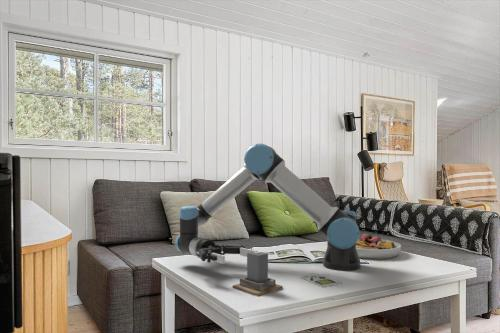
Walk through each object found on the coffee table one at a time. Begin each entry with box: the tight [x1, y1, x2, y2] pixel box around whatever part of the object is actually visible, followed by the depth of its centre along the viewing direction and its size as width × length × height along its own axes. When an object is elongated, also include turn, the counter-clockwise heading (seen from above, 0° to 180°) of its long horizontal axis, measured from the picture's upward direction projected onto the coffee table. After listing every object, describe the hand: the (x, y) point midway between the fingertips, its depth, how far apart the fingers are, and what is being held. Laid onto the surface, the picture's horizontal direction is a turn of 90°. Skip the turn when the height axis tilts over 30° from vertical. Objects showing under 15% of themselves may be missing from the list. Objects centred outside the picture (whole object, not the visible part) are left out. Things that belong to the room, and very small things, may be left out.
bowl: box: [356, 233, 402, 260], centre depth 193 cm, size 30×30×8 cm
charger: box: [246, 250, 269, 283], centre depth 136 cm, size 4×6×11 cm
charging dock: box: [232, 276, 283, 297], centre depth 136 cm, size 12×12×3 cm
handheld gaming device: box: [299, 273, 342, 288], centre depth 146 cm, size 9×1×15 cm
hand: (238, 256), depth 143 cm, fingers open, 13 cm apart
